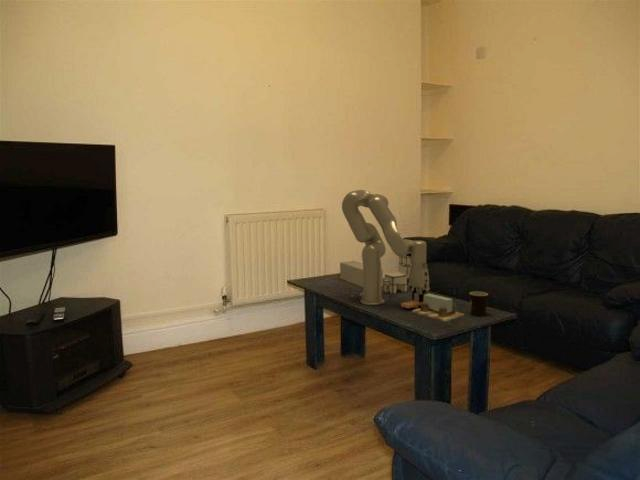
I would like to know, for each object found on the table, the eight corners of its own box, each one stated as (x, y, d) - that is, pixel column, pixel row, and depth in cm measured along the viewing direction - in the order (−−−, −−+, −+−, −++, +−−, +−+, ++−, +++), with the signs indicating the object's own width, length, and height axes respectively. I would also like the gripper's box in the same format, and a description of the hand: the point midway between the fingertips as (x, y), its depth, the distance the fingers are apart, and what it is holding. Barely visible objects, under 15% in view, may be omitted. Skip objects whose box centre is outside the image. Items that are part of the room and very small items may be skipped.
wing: (401, 309, 257) (401, 295, 256) (427, 302, 269) (427, 289, 268) (408, 311, 253) (408, 297, 252) (434, 304, 265) (435, 290, 264)
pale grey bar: (423, 306, 251) (423, 294, 250) (428, 305, 254) (428, 293, 253) (447, 312, 240) (447, 300, 240) (452, 311, 243) (452, 298, 242)
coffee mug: (485, 317, 241) (486, 296, 239) (467, 315, 245) (467, 294, 243) (490, 311, 251) (491, 291, 249) (472, 308, 255) (473, 289, 253)
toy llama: (381, 292, 291) (381, 257, 288) (405, 288, 299) (405, 254, 296) (389, 295, 284) (389, 259, 281) (413, 290, 293) (414, 256, 290)
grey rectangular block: (340, 279, 327) (339, 262, 326) (354, 277, 332) (354, 260, 331) (367, 289, 299) (367, 271, 298) (382, 286, 304) (382, 269, 303)
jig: (412, 312, 251) (412, 303, 250) (431, 307, 259) (431, 298, 259) (445, 321, 235) (445, 312, 235) (464, 315, 244) (464, 306, 243)
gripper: (436, 266, 253) (436, 302, 256) (411, 261, 267) (410, 296, 269) (426, 268, 249) (426, 305, 252) (401, 263, 262) (401, 298, 265)
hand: (418, 300), depth 260 cm, fingers open, 4 cm apart
